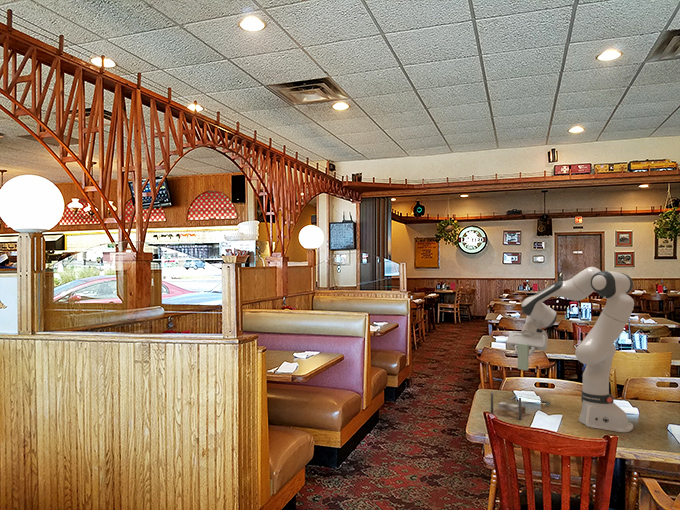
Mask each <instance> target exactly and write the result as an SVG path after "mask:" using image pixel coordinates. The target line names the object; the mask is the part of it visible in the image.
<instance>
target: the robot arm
mask: <svg viewBox="0 0 680 510" xmlns="http://www.w3.org/2000/svg"><path fill="white" fill-rule="evenodd" d="M633 288H634V281H633V279H632V277H630V276H629V275H628V274H626V273H624V272H617V271H614V270H613V271H611V270H608V271H607V270H603V271H602V270H601V269H599V268H598V267H595V266H588V267H586V268H585V269H583V270H581V271H579V272H578V273H577V274H575V275H574V276H573V277H571V278H570V279H567V280H563V281H562V280H561V281H560V280H559V281H555V282H554V283H552V284H550V285H548V286H547V287H545V288H543V289H541V290H539V291H538V292H536V293H535V294H533V295H530V296H528V297H526V298H525V299H523V301H522V302H521V304H520V308H521V311H522V314H525V315H526V318H525V323H523V326H522V328H521V331H516V330H513V331H510V332H509V336H508V337H507V339H506V345H507V346H508V347H510V348H514V349H515V350H514V354H515V355H518V343H520V344H528V353H527V355H528V357H531V356H532V355H533V354H534V353H535V351H541V352H545V351H546V350H547V349H548V345H549V344H548V343H549V342H548V341H549V337H548V336H549V335H548V334H547V332H546V331H545V330H544V329H546V328H550V327H552V326H554V325H555V323H556V322H557V320H558V313H557V311H556V310H554V309H553V308H551V307H550V306H549V305H546V304H545V303H544V302H545V301H546V300H548V299H550V298H551V297H552V298H553V297H559V298H560V297H561V298H564V299H566V300H567V299H568V300H570V301H583V300H584V299H586V298H588V297H589V296H590V295H591V294H592V293H594V292H595V293H596V294H598V295H599V296H600V297H601V298H602V299H604V300H605V299H606V303H605V306H604V307H603V309H602V310H601V312H600V315H599V316H598V318H597V320H596V322H595V323H594V325H593V327H592V328H591V329H590V330H589V332H588V333H587V334H586V336H585V337H584V338H583V339H582V341H581V343H580V344H578V346H577V347H576V348H575V351H574V352H575V358H576V359H577V361H578V362H580V363H581V364H583V365H586V366H585V369H584V371H583V373H582V390H581V392H580V393H581V396H580V398H581V399H580V400H581V411H580V415H579V416H578V417H579V418H578V422H579V423H581V424H584V425H585V426H586V427H588V428H592V429H597V430H598V429H599V430H606V431H612V432H618V433H629V432H631V431H632V430H634V425H633V424H632V423H631V422H628V421H629V420H628V415H627V413H626V412H625V410H623V409H622V408H620V406H618V405H617V404H616V403H615V402H614V398H615V395H612V394H611V393H610V373H611V369H612V364H613V358H614V357H615V354H616V351H617V348H616V345H615V341H616V340H617V339H618V338H619V337H620V336H621V334H622V333H623V331H624V329H625V327H626V325H627V323H628V322H629V319H630V317H631V315H632V312H633V310H634V307H635V300H634V298H632V296H630V295H629V293H631V291H632V290H633ZM543 328H544V329H543Z"/></svg>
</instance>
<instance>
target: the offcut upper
mask: <svg viewBox="0 0 680 510" xmlns="http://www.w3.org/2000/svg"><path fill="white" fill-rule="evenodd" d="M497 408H498V409H502V410H507V411H511V412H518V411H519V404H515V403H510V402H505V401H501V402H498V403H497Z"/></svg>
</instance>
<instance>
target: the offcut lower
mask: <svg viewBox="0 0 680 510" xmlns="http://www.w3.org/2000/svg"><path fill="white" fill-rule="evenodd" d="M496 410H497V414H500V415H505V416H509V417H514V418H518V417H519V411H518V412H511V411H507V410H502V409H498V407H497V408H496Z"/></svg>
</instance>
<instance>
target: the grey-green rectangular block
mask: <svg viewBox="0 0 680 510" xmlns="http://www.w3.org/2000/svg"><path fill="white" fill-rule="evenodd" d="M517 350H518V354H517V369H518V370H522V371H529V356H528V355H527V353H528V351H529V349H528V344H520V343H518V349H517Z"/></svg>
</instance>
